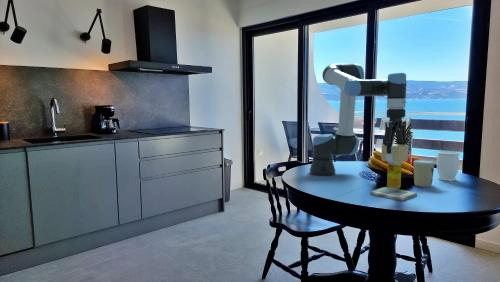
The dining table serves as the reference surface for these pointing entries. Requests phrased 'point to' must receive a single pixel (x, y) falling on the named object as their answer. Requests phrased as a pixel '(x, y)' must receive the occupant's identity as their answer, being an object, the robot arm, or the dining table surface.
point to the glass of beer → (394, 175)
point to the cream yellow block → (396, 153)
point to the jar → (447, 165)
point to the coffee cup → (423, 173)
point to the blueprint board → (393, 193)
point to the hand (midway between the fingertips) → (394, 159)
